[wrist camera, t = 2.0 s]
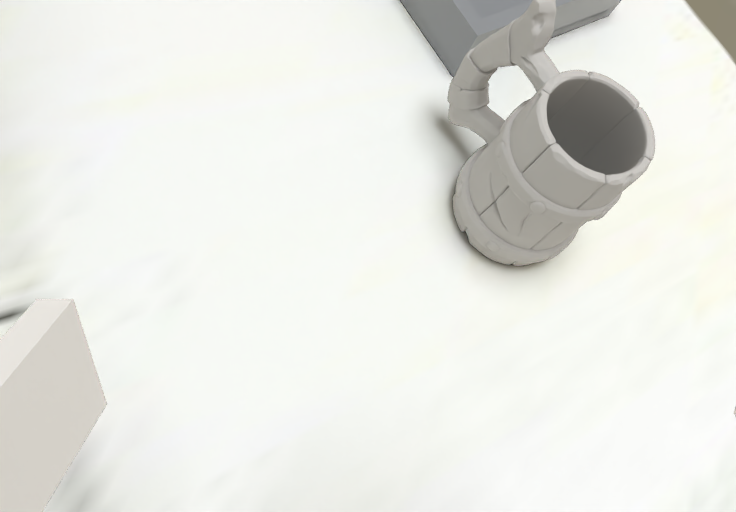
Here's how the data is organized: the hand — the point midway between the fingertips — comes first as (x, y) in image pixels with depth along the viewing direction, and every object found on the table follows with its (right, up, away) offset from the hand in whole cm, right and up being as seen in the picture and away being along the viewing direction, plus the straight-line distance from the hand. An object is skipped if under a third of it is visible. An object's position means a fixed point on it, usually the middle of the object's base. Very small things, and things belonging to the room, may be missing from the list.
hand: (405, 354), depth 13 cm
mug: (+7, +6, +28) cm, 30 cm away
